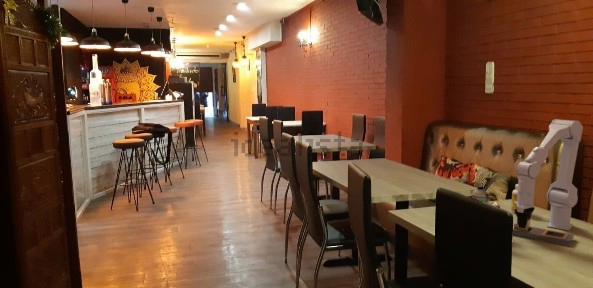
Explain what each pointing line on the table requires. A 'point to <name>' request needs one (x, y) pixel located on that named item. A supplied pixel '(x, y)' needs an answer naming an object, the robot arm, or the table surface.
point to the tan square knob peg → (526, 226)
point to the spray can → (480, 194)
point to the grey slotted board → (545, 235)
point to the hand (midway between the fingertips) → (523, 226)
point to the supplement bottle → (514, 198)
